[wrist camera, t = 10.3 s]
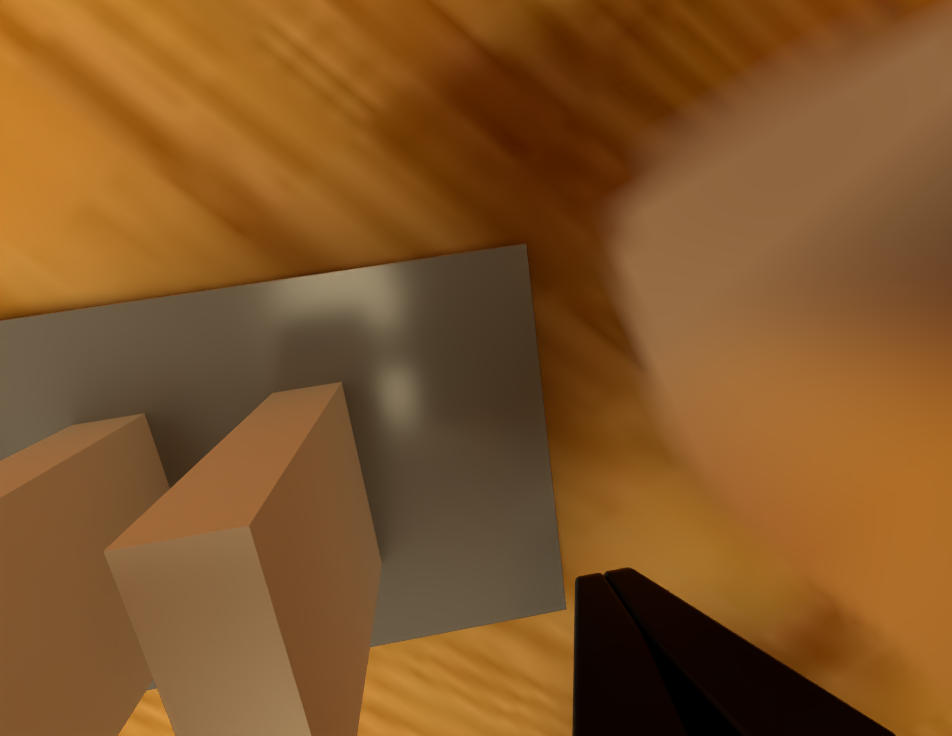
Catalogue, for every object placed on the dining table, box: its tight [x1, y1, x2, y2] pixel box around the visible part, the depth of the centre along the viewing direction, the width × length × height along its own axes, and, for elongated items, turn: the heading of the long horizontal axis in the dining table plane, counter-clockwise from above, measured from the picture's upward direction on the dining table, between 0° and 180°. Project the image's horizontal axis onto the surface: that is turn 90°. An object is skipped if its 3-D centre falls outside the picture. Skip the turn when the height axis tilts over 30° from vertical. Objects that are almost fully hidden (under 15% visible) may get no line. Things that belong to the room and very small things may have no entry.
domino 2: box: [103, 382, 382, 736], centre depth 9 cm, size 2×5×6 cm, turn 8°
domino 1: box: [0, 413, 170, 736], centre depth 9 cm, size 2×5×6 cm, turn 8°
